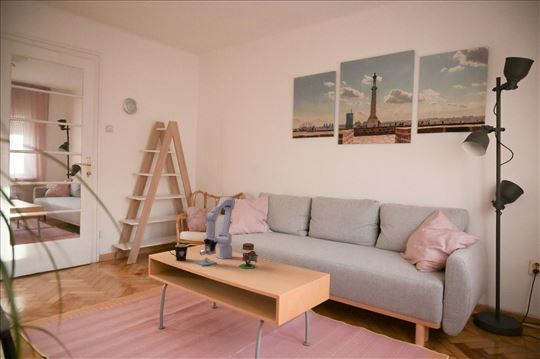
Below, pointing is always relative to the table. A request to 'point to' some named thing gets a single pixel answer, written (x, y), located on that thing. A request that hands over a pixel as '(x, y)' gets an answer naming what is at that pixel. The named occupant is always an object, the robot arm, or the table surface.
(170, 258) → the table surface
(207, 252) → the elbow
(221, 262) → the table surface
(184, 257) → the coffee mug
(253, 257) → the miniature tree model
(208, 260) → the panel
